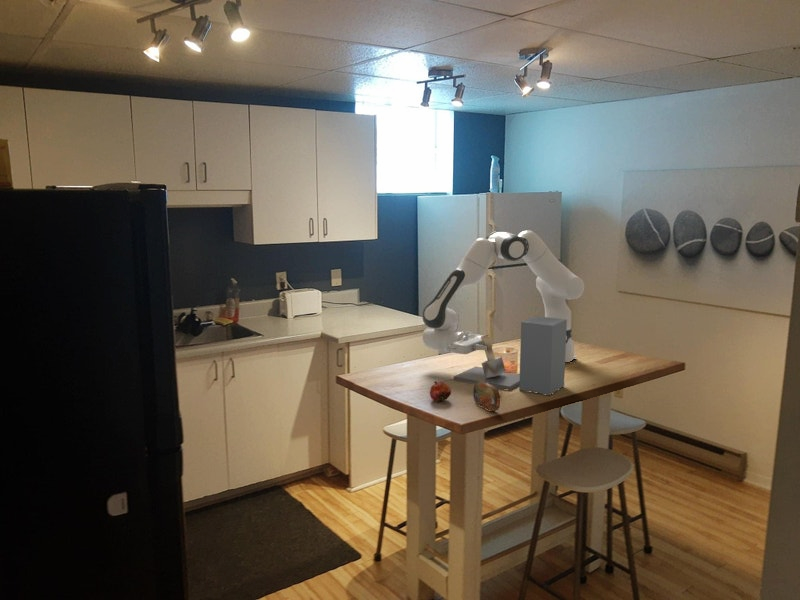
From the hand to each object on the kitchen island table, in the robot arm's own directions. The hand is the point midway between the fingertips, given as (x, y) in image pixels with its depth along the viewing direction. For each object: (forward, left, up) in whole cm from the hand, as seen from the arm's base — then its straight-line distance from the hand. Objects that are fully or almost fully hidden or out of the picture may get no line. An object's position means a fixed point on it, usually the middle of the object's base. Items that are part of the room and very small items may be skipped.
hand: (489, 347), depth 245 cm
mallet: (-1, -1, -4) cm, 4 cm away
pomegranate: (+24, -25, -13) cm, 37 cm away
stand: (+16, +16, -13) cm, 26 cm away
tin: (+33, -11, -13) cm, 37 cm away
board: (+1, +1, -13) cm, 13 cm away
